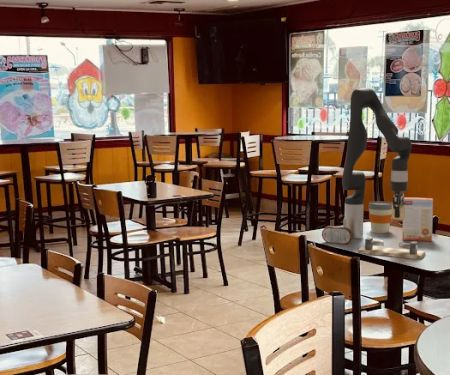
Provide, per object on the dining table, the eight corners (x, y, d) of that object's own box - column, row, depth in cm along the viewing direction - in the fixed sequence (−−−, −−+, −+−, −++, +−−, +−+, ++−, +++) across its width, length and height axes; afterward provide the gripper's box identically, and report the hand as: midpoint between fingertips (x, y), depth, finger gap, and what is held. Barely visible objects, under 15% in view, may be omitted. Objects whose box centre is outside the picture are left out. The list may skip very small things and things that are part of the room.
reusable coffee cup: (394, 233, 360) (395, 204, 358) (370, 233, 361) (371, 204, 359) (389, 228, 373) (390, 201, 371) (365, 228, 373) (366, 201, 371)
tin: (353, 244, 334) (353, 227, 333) (351, 245, 332) (351, 228, 330) (322, 241, 341) (323, 224, 340) (320, 242, 338) (321, 225, 337)
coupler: (404, 218, 322) (405, 205, 321) (402, 219, 318) (403, 206, 317) (393, 217, 324) (393, 204, 323) (391, 218, 320) (391, 206, 320)
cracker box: (432, 239, 345) (433, 197, 342) (431, 241, 339) (433, 199, 337) (403, 237, 350) (404, 196, 347) (402, 240, 344) (403, 198, 341)
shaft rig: (358, 253, 315) (358, 238, 314) (364, 248, 324) (364, 235, 323) (420, 259, 303) (421, 244, 302) (425, 254, 312) (425, 240, 311)
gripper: (404, 182, 311) (403, 220, 313) (410, 179, 323) (409, 215, 326) (387, 181, 314) (386, 218, 316) (394, 178, 327) (393, 214, 329)
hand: (398, 216), depth 321 cm, fingers closed on coupler, 4 cm apart
